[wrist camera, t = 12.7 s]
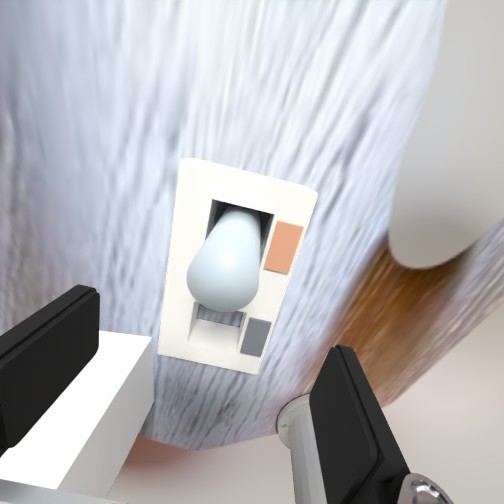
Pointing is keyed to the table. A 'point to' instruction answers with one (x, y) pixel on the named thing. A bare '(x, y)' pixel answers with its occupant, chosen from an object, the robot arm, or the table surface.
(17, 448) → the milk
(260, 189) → the socket block
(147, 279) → the table surface
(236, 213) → the plug
